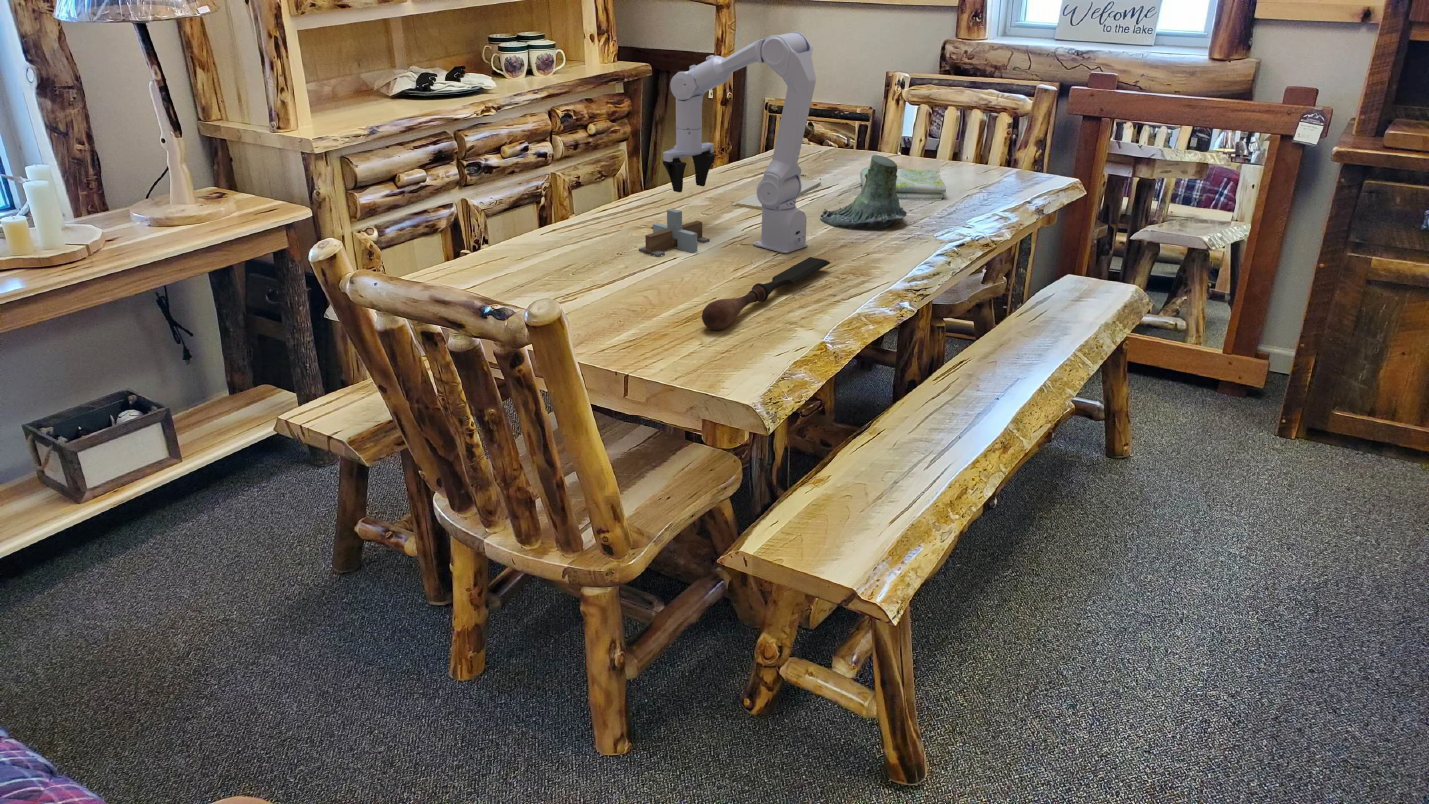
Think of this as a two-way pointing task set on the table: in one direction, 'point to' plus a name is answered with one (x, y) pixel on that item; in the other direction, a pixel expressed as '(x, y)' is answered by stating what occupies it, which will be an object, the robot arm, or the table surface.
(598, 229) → the table surface
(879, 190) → the tree stump
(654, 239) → the walnut slotted plate
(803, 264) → the chisel
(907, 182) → the towel
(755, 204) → the baseboard molding
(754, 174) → the table surface
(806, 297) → the table surface
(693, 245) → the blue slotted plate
